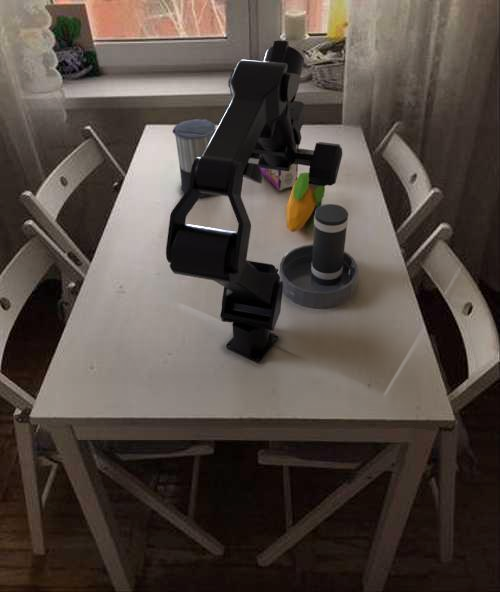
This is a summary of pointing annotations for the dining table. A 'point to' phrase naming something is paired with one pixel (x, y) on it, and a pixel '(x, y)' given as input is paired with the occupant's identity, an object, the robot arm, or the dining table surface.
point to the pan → (306, 289)
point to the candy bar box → (282, 176)
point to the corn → (302, 203)
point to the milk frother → (192, 145)
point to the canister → (329, 244)
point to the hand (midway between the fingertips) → (286, 184)
